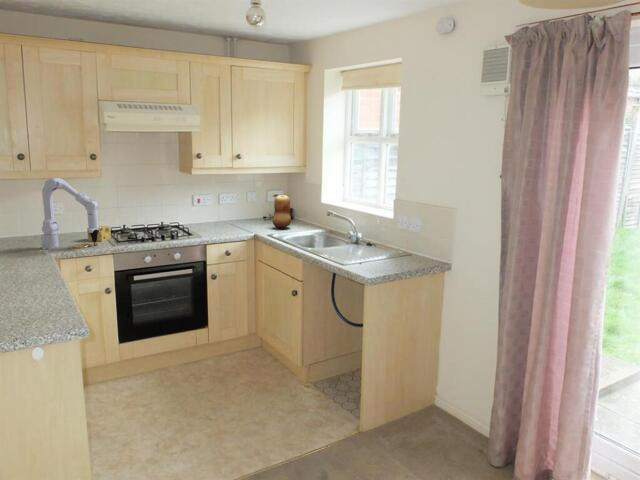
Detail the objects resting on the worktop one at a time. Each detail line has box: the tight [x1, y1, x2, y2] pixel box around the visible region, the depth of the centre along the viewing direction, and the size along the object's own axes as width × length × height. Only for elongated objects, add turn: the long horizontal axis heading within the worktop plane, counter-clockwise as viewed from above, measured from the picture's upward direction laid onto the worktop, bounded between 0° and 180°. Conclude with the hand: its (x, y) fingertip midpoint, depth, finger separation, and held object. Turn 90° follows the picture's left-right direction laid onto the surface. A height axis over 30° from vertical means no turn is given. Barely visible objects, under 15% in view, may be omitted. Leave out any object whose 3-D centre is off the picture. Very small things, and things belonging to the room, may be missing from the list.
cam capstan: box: [73, 241, 98, 249], centre depth 323 cm, size 14×9×6 cm, turn 114°
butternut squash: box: [272, 194, 292, 229], centre depth 390 cm, size 14×13×25 cm
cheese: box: [86, 225, 112, 243], centre depth 342 cm, size 10×11×10 cm
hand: (94, 241), depth 324 cm, fingers closed, pressing on cam capstan
